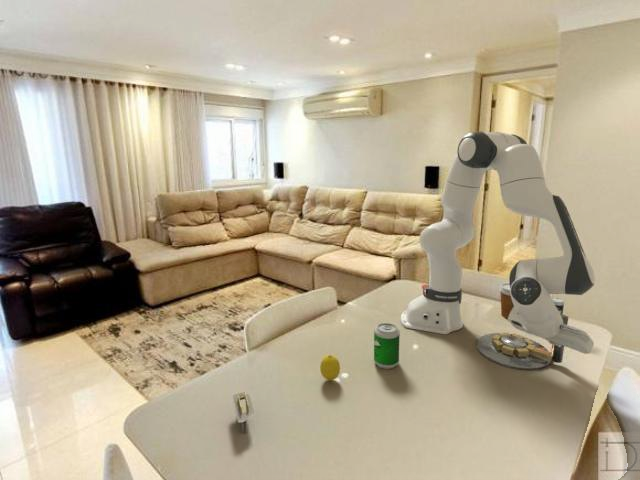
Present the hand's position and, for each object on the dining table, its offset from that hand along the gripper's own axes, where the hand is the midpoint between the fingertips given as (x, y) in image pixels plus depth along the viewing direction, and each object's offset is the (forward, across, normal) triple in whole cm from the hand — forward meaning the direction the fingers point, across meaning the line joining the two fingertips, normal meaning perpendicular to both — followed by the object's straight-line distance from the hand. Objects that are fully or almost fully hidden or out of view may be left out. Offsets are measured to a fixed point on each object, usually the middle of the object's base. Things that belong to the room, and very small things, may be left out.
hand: (556, 343), depth 108 cm
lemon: (-34, +33, +46) cm, 67 cm away
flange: (+5, +12, +6) cm, 14 cm away
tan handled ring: (+5, +8, +4) cm, 10 cm away
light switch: (-53, +31, +66) cm, 90 cm away
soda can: (-21, +30, +33) cm, 49 cm away
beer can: (+22, +11, -11) cm, 27 cm away
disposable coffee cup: (+22, +27, -12) cm, 37 cm away
